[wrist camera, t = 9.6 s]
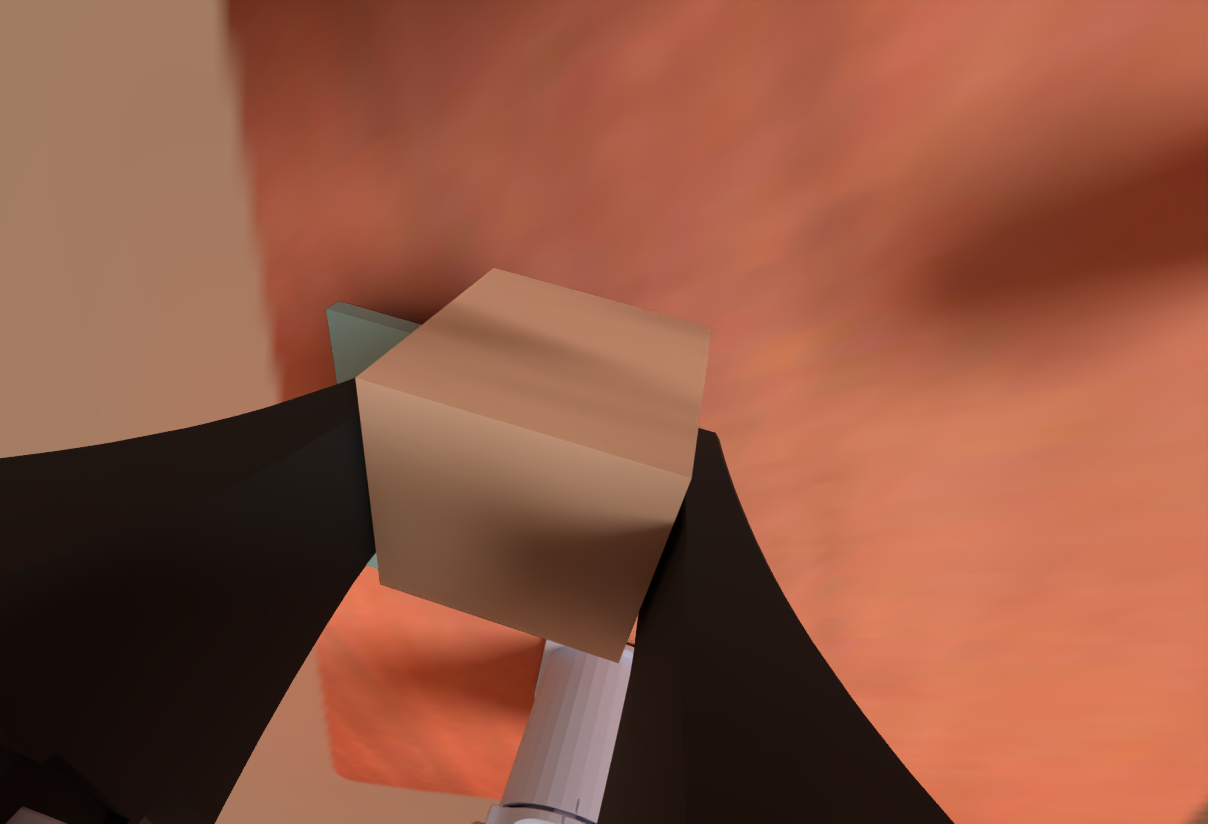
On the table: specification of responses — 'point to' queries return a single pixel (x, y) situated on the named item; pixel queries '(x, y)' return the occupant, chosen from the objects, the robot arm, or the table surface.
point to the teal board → (362, 342)
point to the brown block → (533, 456)
